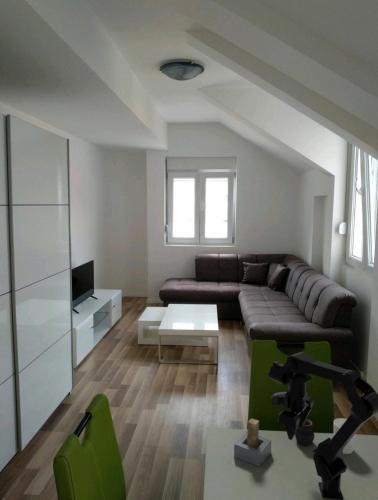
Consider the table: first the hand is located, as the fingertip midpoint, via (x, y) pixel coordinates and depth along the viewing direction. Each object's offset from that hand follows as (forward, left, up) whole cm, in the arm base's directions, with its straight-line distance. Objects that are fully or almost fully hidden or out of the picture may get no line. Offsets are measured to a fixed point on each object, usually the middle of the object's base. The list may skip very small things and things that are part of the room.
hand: (295, 433), depth 136 cm
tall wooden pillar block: (+6, +14, -12) cm, 20 cm away
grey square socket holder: (+6, +14, -13) cm, 20 cm away
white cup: (+14, -20, -13) cm, 28 cm away
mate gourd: (+17, -6, -13) cm, 22 cm away
